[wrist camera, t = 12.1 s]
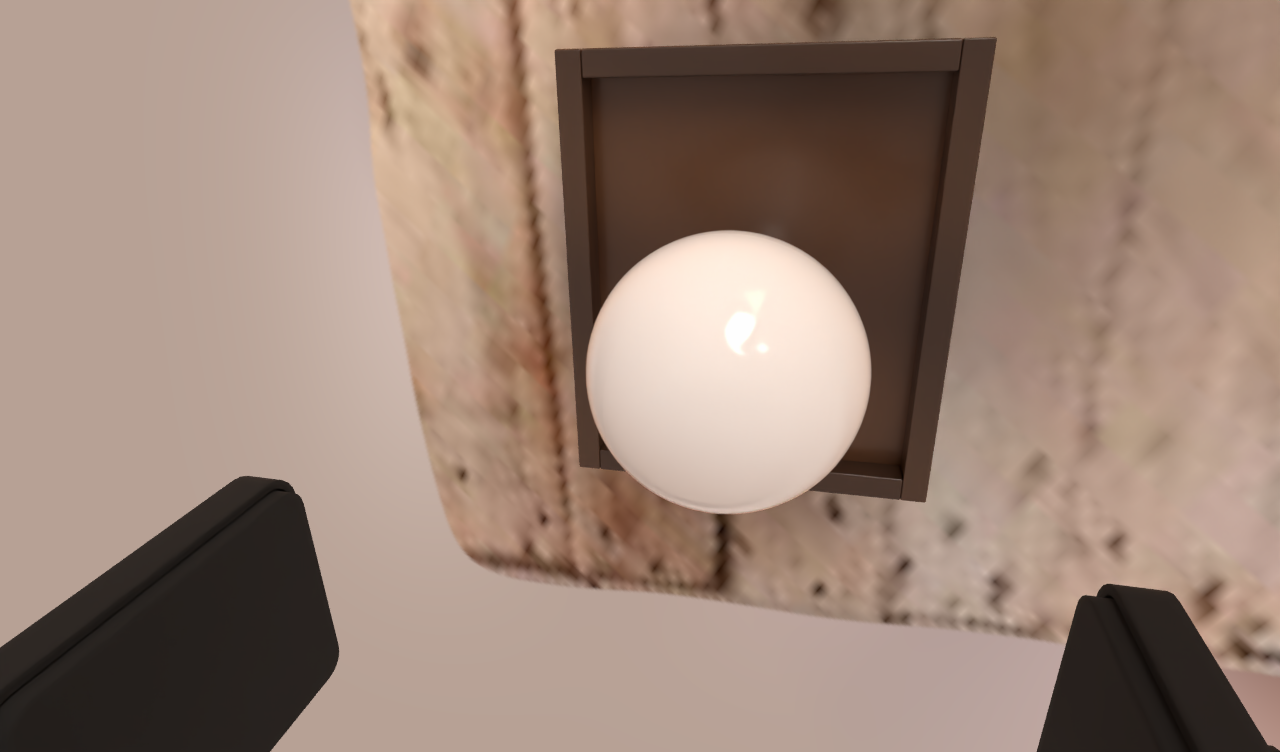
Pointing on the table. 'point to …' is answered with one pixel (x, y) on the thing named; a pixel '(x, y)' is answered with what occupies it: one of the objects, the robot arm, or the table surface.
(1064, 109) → the table surface
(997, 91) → the table surface
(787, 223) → the tray
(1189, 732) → the robot arm
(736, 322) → the lightbulb
